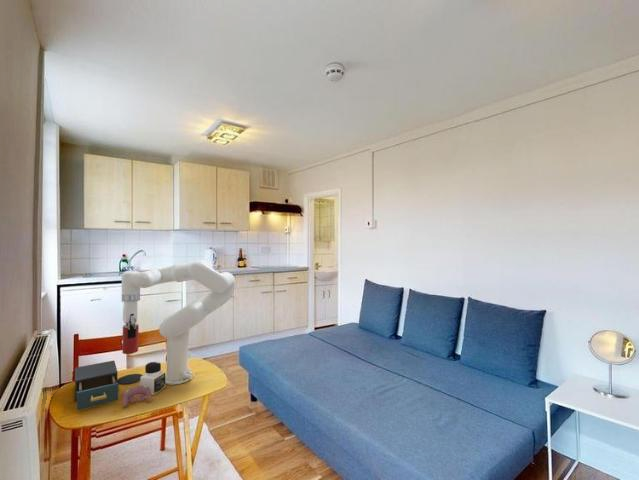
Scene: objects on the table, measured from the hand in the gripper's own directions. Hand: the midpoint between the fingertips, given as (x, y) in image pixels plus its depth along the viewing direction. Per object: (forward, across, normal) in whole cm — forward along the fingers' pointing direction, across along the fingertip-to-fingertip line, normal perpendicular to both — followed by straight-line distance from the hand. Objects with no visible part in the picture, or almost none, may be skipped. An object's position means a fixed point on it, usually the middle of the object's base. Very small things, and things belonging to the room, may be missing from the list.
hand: (130, 335), depth 149 cm
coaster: (+21, 0, 0) cm, 21 cm away
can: (+8, 0, 0) cm, 8 cm away
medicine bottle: (+21, +17, +7) cm, 28 cm away
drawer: (+20, +15, -13) cm, 28 cm away
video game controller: (+21, +25, 0) cm, 33 cm away
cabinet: (+21, +2, -13) cm, 25 cm away
